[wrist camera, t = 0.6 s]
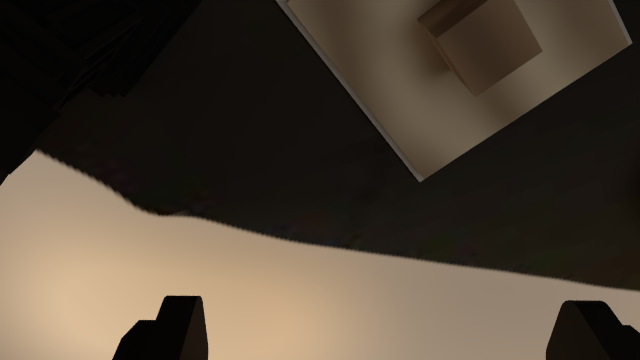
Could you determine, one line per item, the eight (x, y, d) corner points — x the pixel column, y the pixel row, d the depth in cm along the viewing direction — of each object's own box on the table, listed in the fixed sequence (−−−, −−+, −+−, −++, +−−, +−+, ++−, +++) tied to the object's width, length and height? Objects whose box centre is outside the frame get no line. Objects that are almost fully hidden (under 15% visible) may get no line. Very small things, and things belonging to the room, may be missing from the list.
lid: (511, -190, 26) (562, -213, 21) (621, 41, 32) (682, 67, 27) (286, 0, 30) (283, 20, 25) (421, 173, 36) (441, 218, 31)
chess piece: (202, -1, 30) (63, 132, 13) (127, 93, 33) (-74, 310, 15) (84, -107, 27) (-309, -126, 10) (12, 5, 30) (-397, 148, 12)
